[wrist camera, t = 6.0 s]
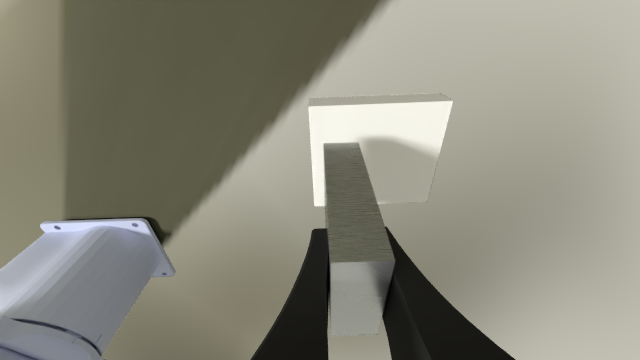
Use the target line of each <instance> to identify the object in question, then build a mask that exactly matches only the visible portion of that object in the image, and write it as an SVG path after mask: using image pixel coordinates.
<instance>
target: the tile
mask: <svg viewBox="0 0 640 360" xmlns="http://www.w3.org/2000/svg"><path fill="white" fill-rule="evenodd" d="M452 104H453V100H451V99H449V98H448V97H446V96H445V95H443V94H442V93H416V94H390V95H364V96H339V97H312V98H309V123H310V139H311V157H312V174H313V191H314V206H325V204H324V150H323V143H350V142H359V145H360V149H361V152H362V155H363V158H364V161H365V165H366V168H367V171H368V174H369V178H370V181H371V184H372V187H373V190H374V194H375V197H376V200H377V203H378V204H388V203H416V202H427V201H428V197H429V193H430V189H431V186H432V182H433V178H434V174H435V170H436V166H437V162H438V159H439V155H440V151H441V147H442V143H443V139H444V135H445V132H446V127H447V124H448V120H449V116H450V112H451V108H452Z"/></svg>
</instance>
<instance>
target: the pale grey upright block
mask: <svg viewBox="0 0 640 360" xmlns="http://www.w3.org/2000/svg"><path fill="white" fill-rule="evenodd" d="M323 150H324V204H325V228H327V232H328V249H329V314H330V335H331V336H348V335H378V331H379V327H380V323H381V319H382V315H383V310H384V306H385V302H386V298H387V294H388V289H389V285H390V281H391V277H392V273H393V269H394V264H395V258H394V255H393V252H392V248H391V245H390V242H389V239H388V236H387V232H386V229H385V226H384V223H383V219H382V216H381V213H380V210H379V207H378V203H377V200H376V197H375V194H374V190H373V187H372V184H371V181H370V178H369V174H368V171H367V168H366V165H365V161H364V158H363V155H362V152H361V149H360V145H359V142H350V143H323Z"/></svg>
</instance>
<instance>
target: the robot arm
mask: <svg viewBox="0 0 640 360" xmlns="http://www.w3.org/2000/svg"><path fill="white" fill-rule="evenodd" d="M40 227H41V228H42V230H43V231H44V232H45V234H43V235H42V236H41V237H40V238H39V239H38V240H36V241H35V242H34V243H33V244H31V245H30V246H29V247H27V248H26V249H25V250H24V251H23V252H21V253H20V254H19V255H18V256H16V257H15V258H14V259H13V260H12V261H10V262H9V263H8V264H7V265H6V266H4V267H3V268H2V269H0V360H105V359H103V358H102V355H103V353H104V352H105V350H106V348H107V347H108V345H109V344H110V342H111V340H112V339H113V337H114V336H115V334H116V332H117V331H118V329H119V328H120V326H121V324H122V323H123V321H124V320H125V318H126V316H127V315H128V313H129V312H130V310H131V308H132V307H133V305H134V304H135V302H136V300H137V299H138V297H139V295H140V294H141V292H142V291H143V289H144V287H145V286H146V284H147V283H148V281H149V279H150V278H151V277H168V276H174V274H175V269H174V268H173V266H172V264H171V262H170V260H169V259H168V257H167V255H166V253H165V251H164V249H163V248H162V246H161V244H160V242H159V240H158V239H157V237H156V235H155V233H154V231H153V230H152V228H151V226H150V224H149V222H148V221H147V220H146V219H143V218H130V219H100V220H70V221H46V222H43V223H42V224H41V225H40ZM385 229H386V232H387V236H388V239H389V242H390V245H391V248H392V252H393V255H394V258H395V264H394V269H393V273H392V277H391V281H390V285H389V289H388V294H387V298H386V302H385V306H384V310H383V315H382V317H383V321H384V325H385V328H386V332H387V336H388V341H389V346H390V352H391V357H392V360H515V359H514V358H513V357H511V356H510V355H509V354H508V353H506V352H505V351H504V350H503V349H501V348H500V347H499V346H497V345H496V344H495V343H494V342H493V341H492V340H490V339H489V338H488V337H487V336H486V335H484V334H483V333H482V332H481V331H480V330H479V329H477V328H476V327H475V326H474V325H473V324H472V323H470V322H469V321H468V320H467V319H466V318H465V317H464V316H463V315H462V314H461V313H460V312H459V311H458V310H456V309H455V308H454V307H453V306H452V305H451V304H450V303H449V302H448V301H447V300H446V299H445V298H444V297H443V296H442V295H441V294H440V293H439V292H438V291H437V290H436V288H435V287H434V286H433V285H432V284H431V283H430V282H429V281H428V280H427V279H426V277H424V275H423V274H422V273H421V272H420V270H419V269H418V268H417V267H416V266H415V264H414V263H413V262H412V261H411V259H410V258H409V257H408V256H407V254H406V253H405V252H404V251H403V249H402V248H401V246H400V245H399V244H398V242H397V241H396V239H395V238H394V237H393V235H392V234H391V232H390V231H389V229H388V228H387V227H385ZM328 303H329V249H328V232H327V228H325V229H314V230H312V234H311V240H310V244H309V247H308V251H307V254H306V257H305V259H304V262H303V265H302V268H301V270H300V273H299V275H298V277H297V280H296V282H295V284H294V286H293V289H292V291H291V293H290V295H289V297H288V299H287V301H286V303H285V304H284V306H283V308H282V310H281V312H280V314H279V316H278V317H277V319H276V321H275V323H274V324H273V326H272V328H271V329H270V331H269V333H268V334H267V336H266V337H265V339H264V340H263V342H262V344H261V345H260V346H259V348H258V349H257V351H256V352H255V354H254V355H253V357H252V358H251V360H328V339H327V338H328V337H327V327H328Z"/></svg>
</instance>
